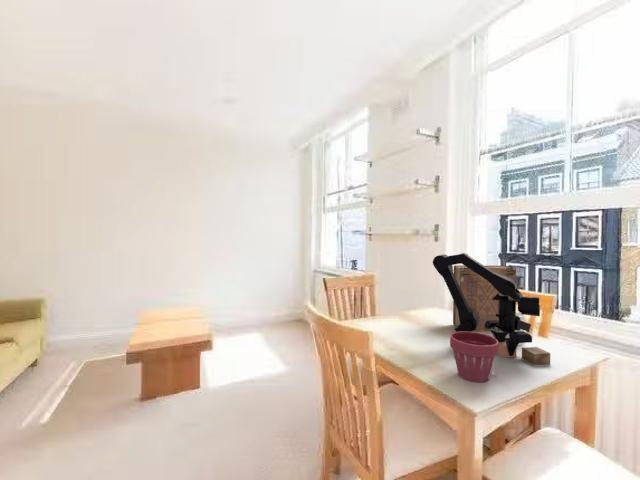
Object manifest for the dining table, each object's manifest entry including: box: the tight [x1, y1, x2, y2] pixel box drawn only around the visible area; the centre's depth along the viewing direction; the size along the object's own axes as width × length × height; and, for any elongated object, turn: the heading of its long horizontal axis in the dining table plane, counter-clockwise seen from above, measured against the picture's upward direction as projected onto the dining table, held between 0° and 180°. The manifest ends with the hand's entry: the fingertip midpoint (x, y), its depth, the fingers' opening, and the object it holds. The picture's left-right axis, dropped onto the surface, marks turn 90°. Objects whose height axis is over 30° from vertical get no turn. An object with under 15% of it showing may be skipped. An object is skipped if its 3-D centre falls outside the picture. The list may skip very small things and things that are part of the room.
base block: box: [521, 346, 551, 366], centre depth 115 cm, size 6×6×4 cm
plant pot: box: [449, 331, 499, 383], centre depth 104 cm, size 14×14×13 cm
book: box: [452, 264, 517, 332], centre depth 154 cm, size 25×9×30 cm, turn 84°
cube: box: [497, 342, 518, 358], centre depth 121 cm, size 4×4×4 cm
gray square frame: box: [520, 357, 552, 367], centre depth 115 cm, size 8×8×1 cm
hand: (506, 353), depth 121 cm, fingers closed on cube, 4 cm apart
